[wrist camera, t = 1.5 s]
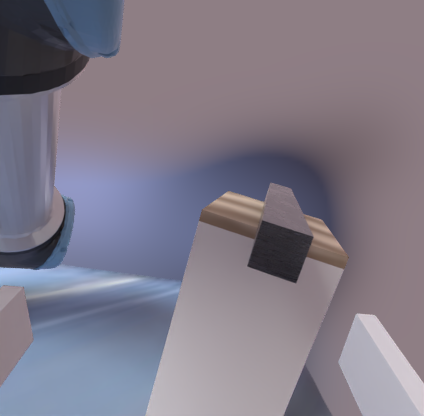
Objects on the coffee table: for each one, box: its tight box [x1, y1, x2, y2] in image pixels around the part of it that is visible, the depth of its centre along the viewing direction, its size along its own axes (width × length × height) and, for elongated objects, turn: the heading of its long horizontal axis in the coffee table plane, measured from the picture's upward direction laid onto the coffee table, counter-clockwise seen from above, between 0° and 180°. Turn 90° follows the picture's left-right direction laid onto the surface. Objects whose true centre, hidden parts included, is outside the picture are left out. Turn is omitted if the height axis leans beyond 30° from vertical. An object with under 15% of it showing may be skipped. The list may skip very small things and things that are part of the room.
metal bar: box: [247, 183, 314, 283], centre depth 29 cm, size 26×3×3 cm, turn 167°
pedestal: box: [145, 191, 349, 416], centre depth 38 cm, size 16×14×30 cm
